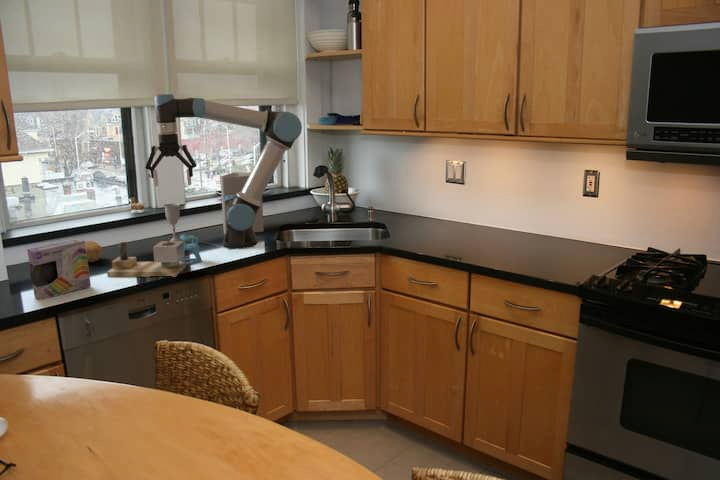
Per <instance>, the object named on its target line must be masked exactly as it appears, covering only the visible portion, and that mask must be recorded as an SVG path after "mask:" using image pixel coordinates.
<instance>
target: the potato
mask: <svg viewBox="0 0 720 480" xmlns="http://www.w3.org/2000/svg"><path fill="white" fill-rule="evenodd" d="M85 245H86V252H87V260H88V263H95V262H97V261H99V259H100V258H101V256H102V255H103V251H104V250H103V248H102V246H101V245H99V244H98V243H97V242H96V241H92V240H86V241H85Z"/></svg>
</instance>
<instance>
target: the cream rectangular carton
mask: <svg viewBox="0 0 720 480" xmlns="http://www.w3.org/2000/svg"><path fill="white" fill-rule="evenodd" d="M250 173H251V172H250ZM250 173H249V172H231V173H228V174H223V175H221V176H220V191H221V193H220V195H221V206H222V207H221V208H222V209H221V210H222V211H221V212H222V223H223V224H222V225H223V234H224V235H225V232H226V215H225V203H224V201H225V196H227V195H235V194H236V193H238V192H241V191H242V189H243V187H244V185H245V183H246V181H247V179H248V177H249V175H250ZM260 205H261V206H260V208H259V210H258V212H257V214H256V217H255V222H254V224H253V225H252V226H253V230H254V233H261V232H263V233H264V229H265V228H264V210H263V196H262V197H261V199H260Z"/></svg>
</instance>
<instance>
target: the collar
mask: <svg viewBox="0 0 720 480" xmlns="http://www.w3.org/2000/svg"><path fill="white" fill-rule="evenodd" d="M166 242H171V243H172V246H165V243H166ZM185 251H186V250H184V241H183V240H182V241H181V240H179V241H171V240H169V241H168V240H167V241H166V240H165V241H164V240H163V241H162V240H161V241H159V242H158V243H156V244H155V245H154V246H152V252H153V262H179V261H180V260H181V259H184V257H186V254H185Z"/></svg>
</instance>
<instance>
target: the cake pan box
mask: <svg viewBox="0 0 720 480" xmlns="http://www.w3.org/2000/svg"><path fill="white" fill-rule="evenodd" d="M85 242H86V241H85V240H84V239H81V238H76V239H72V240H68V241H67V240H66V241H61V242H60V241H59V242H55V243H49V244H45V245H41V246H36V247H30V248H27V256H28V262H29V266H30V267H29V268H30V271H29V274H30V275H29V276H30V279H31V283H32V289H33V295H34V298H36V299H38V300H39V301H41V300H46V299H49V298H52V297H57V296H60V295H65V294H67V293H71V292H75V291H76V292H77V291H79V290H83V289H86V288H90V287H91V286H92V285H91V278H90V269H89V268H90V267H89V262H88V260H87V252H86V245H85Z"/></svg>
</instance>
